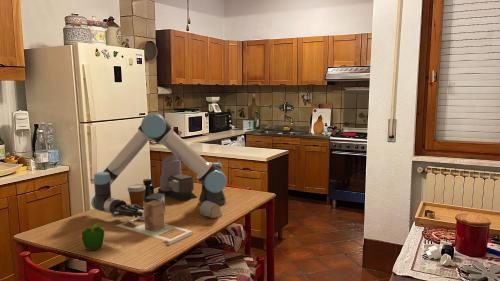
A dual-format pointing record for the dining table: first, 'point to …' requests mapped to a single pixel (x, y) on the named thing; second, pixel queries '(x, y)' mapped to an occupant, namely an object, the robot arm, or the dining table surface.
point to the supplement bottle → (148, 187)
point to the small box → (156, 198)
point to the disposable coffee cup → (137, 194)
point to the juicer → (175, 181)
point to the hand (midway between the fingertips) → (148, 215)
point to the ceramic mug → (210, 209)
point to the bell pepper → (93, 237)
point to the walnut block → (154, 215)
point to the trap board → (155, 234)
